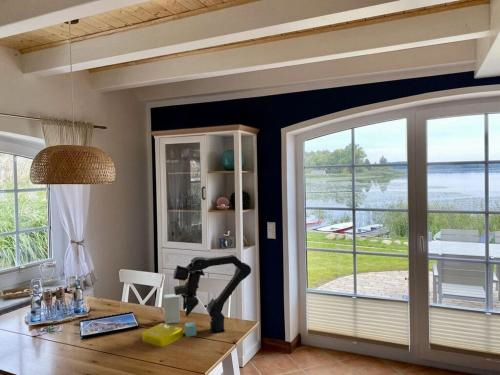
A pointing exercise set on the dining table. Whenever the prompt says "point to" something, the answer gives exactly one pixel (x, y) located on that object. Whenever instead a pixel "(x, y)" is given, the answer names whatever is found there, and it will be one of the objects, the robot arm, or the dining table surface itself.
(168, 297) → the skincare box
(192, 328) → the block
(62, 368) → the dining table surface
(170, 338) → the element tile
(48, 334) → the dining table surface
